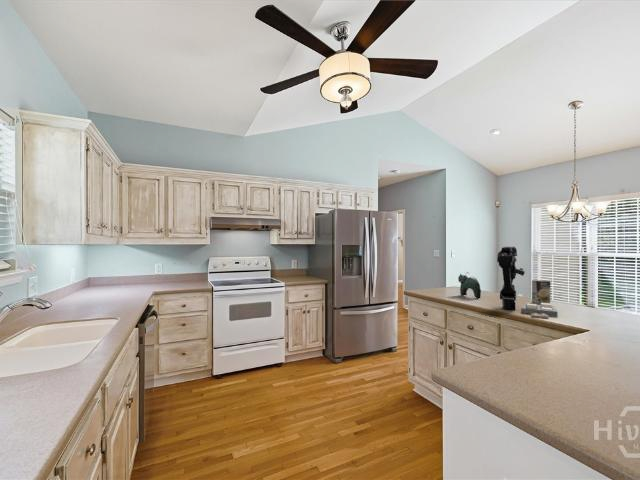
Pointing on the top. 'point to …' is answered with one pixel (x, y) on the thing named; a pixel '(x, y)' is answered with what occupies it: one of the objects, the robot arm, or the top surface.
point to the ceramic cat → (469, 285)
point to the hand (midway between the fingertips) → (510, 286)
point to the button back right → (546, 305)
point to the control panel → (538, 310)
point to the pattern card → (539, 315)
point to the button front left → (532, 306)
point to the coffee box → (540, 291)
